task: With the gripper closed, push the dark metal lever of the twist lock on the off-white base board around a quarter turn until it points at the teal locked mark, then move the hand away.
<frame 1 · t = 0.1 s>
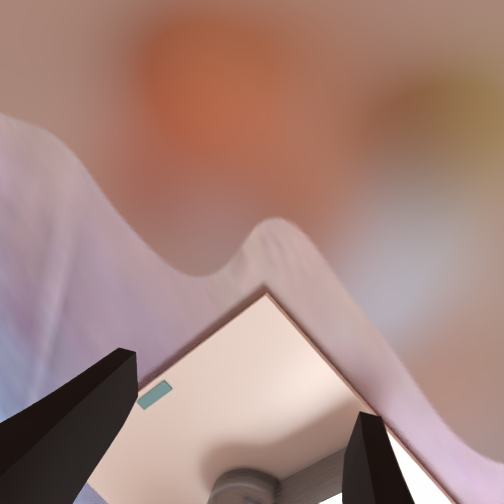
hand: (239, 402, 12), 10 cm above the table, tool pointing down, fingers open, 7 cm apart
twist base: (255, 493, 27), on the table
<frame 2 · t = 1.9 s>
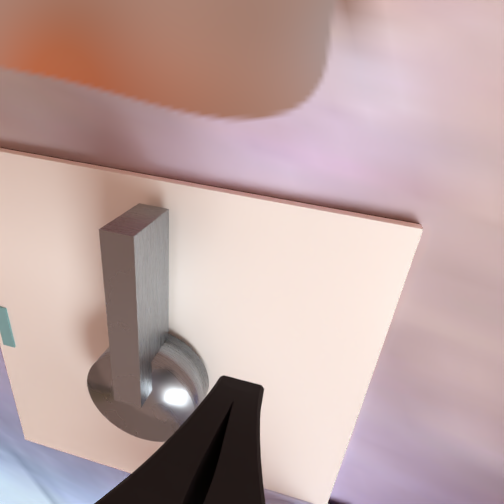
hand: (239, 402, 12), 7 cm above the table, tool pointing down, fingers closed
twist lock: (142, 342, 18), point 2 cm above the table, hinge at 0.0°
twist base: (164, 361, 22), on the table
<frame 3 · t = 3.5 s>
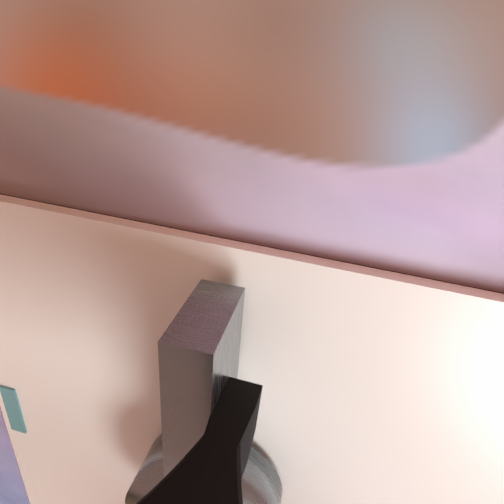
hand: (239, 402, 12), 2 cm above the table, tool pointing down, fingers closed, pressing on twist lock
twist lock: (202, 459, 13), point 2 cm above the table, hinge at 1.2°, touching gripper
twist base: (219, 459, 17), on the table
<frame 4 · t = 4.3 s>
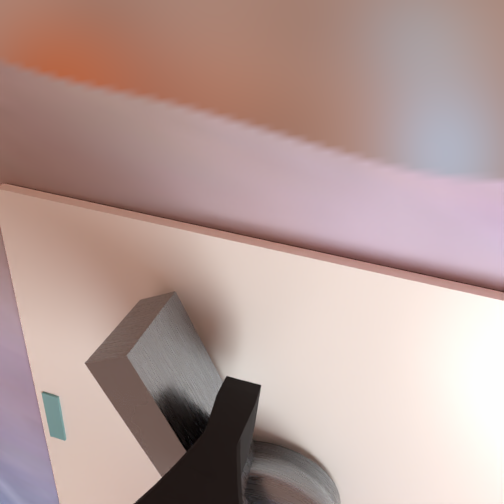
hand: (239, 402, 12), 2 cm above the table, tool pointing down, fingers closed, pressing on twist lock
twist lock: (223, 470, 13), point 2 cm above the table, hinge at 29.3°, touching gripper
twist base: (270, 471, 17), on the table
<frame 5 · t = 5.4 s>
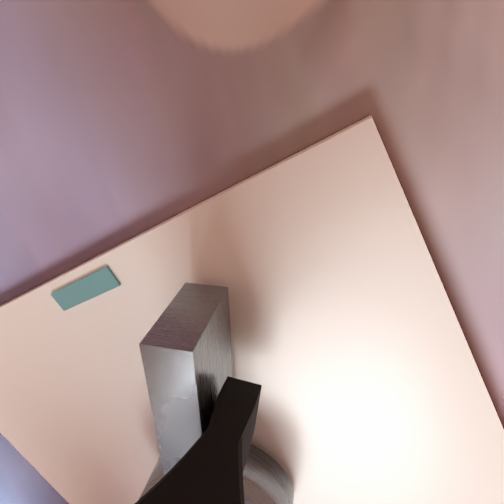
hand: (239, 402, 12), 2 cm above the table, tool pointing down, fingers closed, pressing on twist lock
twist lock: (206, 462, 13), point 2 cm above the table, hinge at 61.5°, touching gripper
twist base: (229, 464, 17), on the table
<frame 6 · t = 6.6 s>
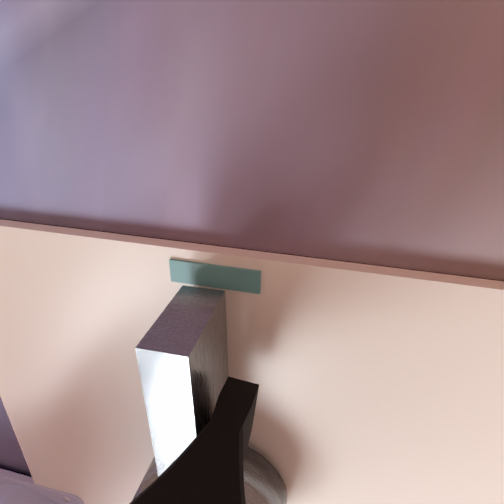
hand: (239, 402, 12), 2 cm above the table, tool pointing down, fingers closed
twist lock: (201, 463, 13), point 2 cm above the table, hinge at 91.2°, touching gripper
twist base: (224, 464, 17), on the table
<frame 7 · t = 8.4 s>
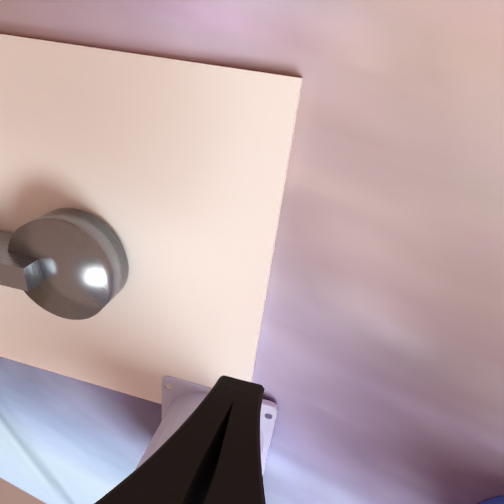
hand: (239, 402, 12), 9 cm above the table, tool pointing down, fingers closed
twist lock: (8, 256, 21), point 2 cm above the table, hinge at 91.4°
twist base: (90, 250, 23), on the table
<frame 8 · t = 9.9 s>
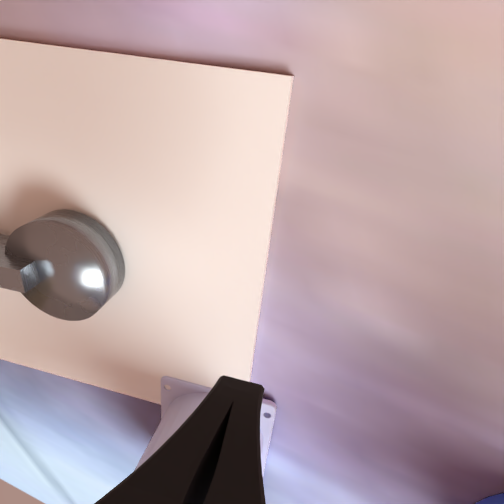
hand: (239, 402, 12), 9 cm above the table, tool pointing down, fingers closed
twist lock: (5, 259, 21), point 2 cm above the table, hinge at 91.4°
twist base: (86, 251, 23), on the table
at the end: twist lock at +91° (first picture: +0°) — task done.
